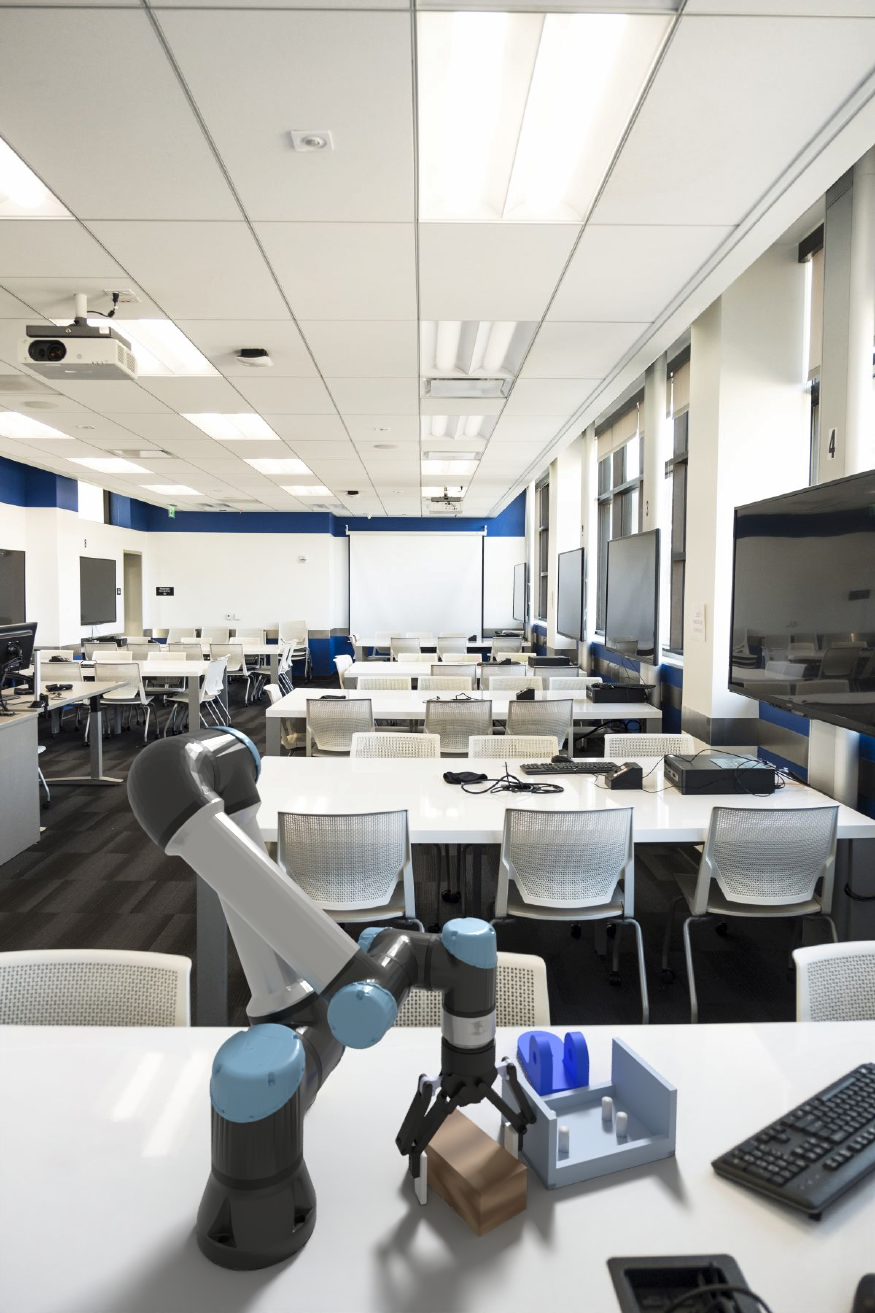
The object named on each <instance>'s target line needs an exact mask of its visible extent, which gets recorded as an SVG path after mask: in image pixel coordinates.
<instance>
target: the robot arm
mask: <svg viewBox="0 0 875 1313" xmlns="http://www.w3.org/2000/svg"><path fill="white" fill-rule="evenodd" d="M261 762H262V761H261V756H260V753H259V751H258V749H257V747H256V745H255V744H254V742H253V741H252V740H251V739H250V738H249V737H248V736H247V735H246V734H244V733H243V732H241V731H239V730H237V729H235V728H232V727H228V726H222V725H220V726H219V725H218V726H205V727H202V728H197V729H196V730H191V731H188V732H184V733H182V734H181V733H180V734H177V735H174V736H173V735H172V736H168V737H164V738H163V737H162V738H160V739H157V740H155V741H153V742H151V743H150V744H148V745H146V746H145V747H144V748H143V749H142V750H141V751H140V752H139V753H138V754H137V756H136V757H135V759H133V762H132V764H131V766H130V767H129V771H128V775H127V780H126V781H127V782H126V789H127V790H126V791H127V797H128V798H127V799H128V802H129V805H130V807H131V810H132V812H133V815H134V817H135V819H137V820H136V821H137V822H138V823H139V825H140V826H141V828H142V829H143V830H144V831H145V833H146V834H147V835H148V837H149V838H150V839H151V840H152V841H153V842H154V843H155V845H156V846H158V847H159V848H160V849H161V850H162V851H163V852H164V854H166V855H167V856H180V857H181V858H182V859H183V860H184V861H185V863H186V864H188V865H189V866H190V867H191V869H193V871H194V872H196V874H198V875H199V876H200V877H201V879H203V881H204V882H206V883H207V885H208V886H210V887H211V888H212V889H213V891H215V893H217V897H218V899H219V902H220V904H221V908H222V911H223V914H224V916H225V920H226V922H227V926H228V928H229V931H230V934H231V938H232V940H233V943H234V945H235V948H236V951H237V952H236V953H237V955H238V956H239V961H240V963H241V966H242V969H243V973H244V975H245V977H246V980H247V984H248V986H249V989H250V992H251V993H250V994H251V998H250V1000H249V1002H248V1003H247V1006H246V1009H245V1011H246V1014H247V1015H246V1016H247V1018H248V1021H249V1024H250V1026H248V1028H247V1030H246V1031H245V1030H239V1031H237V1032H235V1033H234V1034H233V1035H232V1036H230V1037H229V1038H227V1039H226V1040H225V1041H224V1042H223V1043H222V1044H221V1045H220V1047H219V1049H218V1050H217V1051H216V1053H215V1056H214V1057H213V1061H212V1066H211V1076H210V1079H209V1097H210V1155H211V1156H210V1159H211V1161H210V1172H209V1175H208V1178H207V1181H206V1184H205V1187H204V1190H203V1193H202V1196H201V1200H200V1203H199V1205H198V1208H197V1209H198V1210H197V1214H196V1240H197V1244H198V1247H199V1248H200V1251H201V1252H202V1253H203V1255H205V1257H206V1258H208V1259H209V1260H210V1261H211V1262H212V1263H215V1264H216V1265H218V1266H221V1267H223V1268H226V1269H232V1270H240V1271H245V1270H246V1271H249V1270H257V1269H263V1268H267V1267H270V1266H273V1265H276V1264H278V1263H280V1262H282V1261H284V1260H286V1259H287V1258H289V1257H290V1256H292V1255H293V1254H294V1253H296V1252H298V1251H299V1250H300V1249H301V1248H302V1247H303V1246H304V1245H305V1244H306V1242H307V1241H308V1240H309V1238H310V1237H311V1235H312V1233H313V1231H314V1229H315V1226H316V1223H317V1222H316V1221H317V1215H318V1214H317V1209H318V1208H317V1206H318V1203H317V1194H316V1189H315V1186H314V1185H313V1181H312V1178H311V1175H310V1173H309V1170H308V1166H307V1163H306V1161H305V1158H304V1125H305V1124H304V1118H305V1115H306V1111H307V1109H308V1107H309V1106H311V1105H310V1103H311V1102H312V1100H313V1098H314V1097H315V1096H316V1094H317V1095H318V1092H319V1091H320V1090H321V1088H322V1086H324V1083H325V1082H326V1081H327V1079H328V1077H329V1076H330V1074H331V1073H332V1072H333V1071H334V1070H335V1069H336V1068H337V1066H338V1065H339V1063H340V1062H341V1061H342V1058H343V1056H344V1055H345V1054H344V1053H345V1051H346V1049H347V1048H350V1049H353V1050H354V1049H355V1050H364V1049H369V1048H371V1047H374V1046H375V1045H377V1044H378V1043H379V1042H380V1041H382V1039H383V1038H384V1036H385V1035H386V1033H387V1032H388V1031H389V1030H390V1029H392V1027H393V1026H394V1024H395V1021H396V1020H397V1019H398V1018H397V1017H398V1015H399V1013H400V1012H401V1009H402V1007H403V1006H404V1004H405V1003H406V1001H407V999H408V998H409V996H410V994H411V992H412V991H413V990H416V991H422V992H423V991H424V992H438V993H441V1020H440V1022H441V1023H440V1024H441V1027H440V1032H441V1038H440V1044H441V1045H440V1065H441V1066H440V1067H441V1068H440V1072H439V1074H438V1075H437V1076H428V1075H427V1074H426V1073H424V1072H423V1073H421V1074H419V1075H418V1079H417V1080H418V1081H417V1088H416V1089H417V1090H416V1093H415V1095H414V1097H413V1099H412V1101H411V1103H410V1106H409V1107H408V1110H407V1111H406V1112H407V1113H406V1115H405V1116H404V1119H403V1121H402V1123H401V1126H400V1128H399V1131H398V1133H397V1135H396V1137H395V1140H394V1144H395V1145H396V1147H397V1149H398V1151H399V1153H400V1155H401V1156H402V1157H404V1156H405V1157H406V1156H407V1155H408V1172H409V1173H410V1175H411V1177H412V1179H413V1180H414V1193H415V1194H416V1196H417V1199H418V1201H419V1202H420V1205H421V1206H422V1205H425V1204H427V1198H428V1197H427V1186H428V1183H427V1155H426V1154H425V1152H424V1150H425V1148H426V1147H427V1145H428V1144H429V1142H430V1141H431V1139H432V1138H433V1136H434V1135H435V1134H436V1132H437V1131H438V1129H439V1128H440V1126H441V1125H442V1123H443V1122H444V1121H445V1119H446V1118H447V1116H448V1115H451V1114H452V1113H453V1112H454V1110H455V1109H456V1108H457V1107H459V1108H464V1107H467V1106H468V1105H470V1104H471V1105H473V1104H474V1105H477V1104H481V1103H482V1101H483V1100H484V1099H485V1098H486V1099H487V1100H488V1101H489V1102H490V1103H491V1105H492V1106H494V1108H496V1109H497V1110H498V1112H500V1114H501V1113H502V1114H503V1115H504V1117H505V1118H506V1119H507V1120H508V1121H509V1122H508V1123H505V1128H504V1149H506V1150H507V1151H508V1152H509V1153H510V1154H511V1155H513V1156H514V1157H515V1158H516V1159H517V1160H519V1157H518V1156H519V1152H521V1151H522V1149H523V1135H525V1134H526V1133H527V1127H526V1125H528V1124H529V1123H530V1124H534V1123H535V1122H536V1116H535V1114H534V1112H533V1110H532V1108H531V1106H530V1104H529V1102H528V1100H527V1098H526V1096H525V1094H524V1092H523V1090H522V1088H521V1086H520V1084H519V1082H518V1080H517V1070H516V1068H517V1067H516V1065H515V1064H514V1063H513V1061H512V1060H511V1059H510V1058H509V1057H508V1056H505V1055H504V1056H502V1058H501V1061H499V1062H497V1063H496V1059H497V1058H496V1052H497V1051H496V1046H497V1044H496V1043H497V1040H496V1033H497V982H498V981H497V980H498V960H499V957H498V954H497V952H498V950H497V933H496V930H495V928H494V927H493V926H492V924H490V923H489V922H488V921H485V920H483V919H480V918H475V917H466V918H462V917H461V918H459V917H458V918H452V919H450V920H448V921H447V922H446V923H445V924H444V925H443V928H442V932H441V933H432V932H431V933H430V932H424V931H416V930H415V931H414V930H409V929H408V930H407V929H399V928H394V927H390V926H386V927H372V926H371V927H367V928H365V929H364V930H363V931H362V932H361V933H360V935H359V938H358V942H356V941H355V940H354V938H351V936H350V935H349V934H348V933H347V932H345V931H344V929H343V928H341V926H340V925H339V924H338V923H337V922H336V921H335V920H333V918H331V917H330V915H328V913H326V912H325V911H324V910H323V909H322V907H321V906H320V905H318V904H317V903H316V902H315V901H314V900H313V899H312V897H310V895H309V894H307V893H306V892H305V890H303V889H302V888H301V887H300V886H299V885H298V883H296V882H295V880H293V879H292V878H291V877H290V876H289V875H288V874H287V873H286V872H285V871H284V870H283V869H282V868H281V866H279V865H278V864H277V863H276V862H275V861H274V860H273V859H272V858H271V857H270V855H269V851H268V849H267V846H266V843H265V841H264V837H263V834H262V832H261V829H260V826H259V822H258V820H257V814H258V812H259V810H260V808H261V805H262V804H263V803H262V800H261V797H260V794H259V790H258V788H257V784H258V782H259V778H260V775H261V772H262V763H261ZM498 1076H500V1077H501V1079H502V1078H503V1079H505V1080H506V1082H507V1085H508V1087H509V1089H510V1091H511V1093H512V1095H513V1097H514V1099H515V1101H516V1103H517V1105H518V1107H519V1109H520V1111H521V1112H519V1113H518V1114H516V1113H515V1112H514V1111H513V1110H512V1109H511V1108H510V1107H509V1105H508V1104H507V1103H506V1102H505V1101H504V1100H503V1099H502V1096H500V1095H499V1094H498V1093H497V1092H496V1090H495V1089H494V1088H493V1087H492V1086H493V1085H494V1083H495V1081H496V1080H497V1078H498ZM439 1088H440V1089H439ZM437 1089H439V1091H438V1092H437V1095H436V1091H437ZM316 1097H317V1096H316ZM432 1097H436V1098H435V1101H434V1102H433V1104H432V1105H431V1102H432ZM448 1098H449V1100H448ZM430 1105H431V1106H430ZM429 1107H430V1108H429ZM428 1109H429V1110H428Z"/></svg>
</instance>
